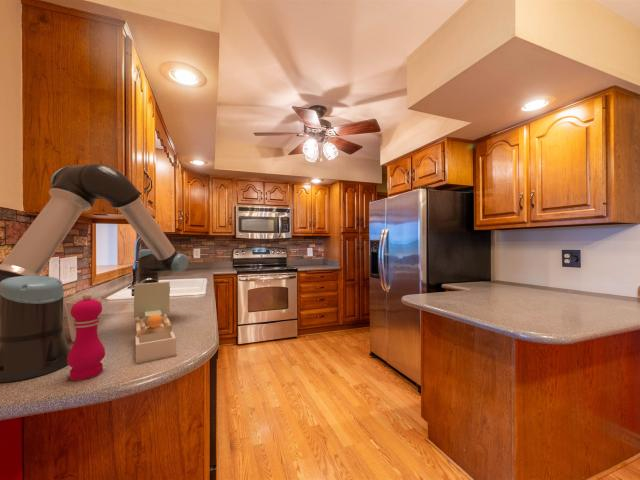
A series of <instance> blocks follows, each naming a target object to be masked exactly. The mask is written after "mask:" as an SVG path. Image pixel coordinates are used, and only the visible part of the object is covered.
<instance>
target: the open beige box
mask: <svg viewBox="0 0 640 480" xmlns="http://www.w3.org/2000/svg"><path fill="white" fill-rule="evenodd" d="M134 341H135V348H134V349H135V351H134V352H135V364H136V365H137V364H141V363H146V362H151V361H156V360H160V359H166V358H171V357H175V356H177V338H176V335H175V333H174V330H173V329H172V330H171V331H165V332H159V333H153V334H146V335H140V336H137V334H135V340H134Z"/></svg>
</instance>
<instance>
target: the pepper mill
mask: <svg viewBox="0 0 640 480" xmlns="http://www.w3.org/2000/svg"><path fill="white" fill-rule="evenodd" d="M81 298H83V300H81V301H78V302H76V303H75V304H74V305H73V306H72V308H71V316H72V317H73V318H74V319H75V321H74V322H73V323H74V325H73V327H75V328H76V338H75V341H74V342H73V345H72V346H71V347H70V351H69V354H68V358H67V363H68V364H67V365H68V366H69V367H70V370H69V379H70V380H71V381H72V380H73V381H80V380H81V381H82V380H87V379H91V378H93V377H96V376H98V375H100V374H101V373H102V372H103V363H102V362H101V361H103V359H104V358H105V357H106V351H105V347H104V345H103V343H102V341H101V340H100V337H99V335H98V328H97V325H98V326H99V324H100V315H101V313H102V311H103V304H102V305H101V303H100V302H99V301H97V300H94V299H91V298H92V294H91V293H90V292H86V293H83V295H82V296H81ZM98 316H99V317H98Z"/></svg>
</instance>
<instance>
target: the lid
mask: <svg viewBox="0 0 640 480" xmlns="http://www.w3.org/2000/svg"><path fill="white" fill-rule="evenodd" d="M133 289H134V296H133V318H135V319H136V318H138V317H144V320H145V325H147V319H148V317H149V316H151V315H153V314H158V315H160V316H161V317H162V314H166V315H167V314H170V311H171V310H170V307H171V306H170V298H171V297H170V294H171V286H170V281H158V282H157V283H143V284H138V283H134V285H133Z"/></svg>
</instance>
